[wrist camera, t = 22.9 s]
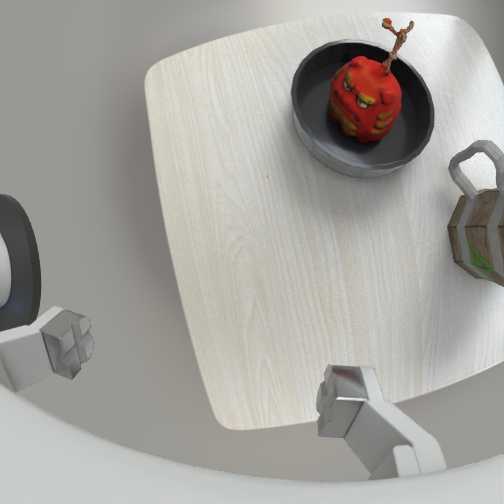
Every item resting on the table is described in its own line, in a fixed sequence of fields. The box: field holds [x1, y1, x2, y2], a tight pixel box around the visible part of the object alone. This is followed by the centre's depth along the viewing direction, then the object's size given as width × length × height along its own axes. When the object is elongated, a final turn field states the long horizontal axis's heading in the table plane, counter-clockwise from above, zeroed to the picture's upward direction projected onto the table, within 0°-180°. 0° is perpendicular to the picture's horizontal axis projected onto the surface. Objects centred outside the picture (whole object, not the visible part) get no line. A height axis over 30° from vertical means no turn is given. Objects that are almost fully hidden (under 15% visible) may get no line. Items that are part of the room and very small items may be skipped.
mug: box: [447, 140, 504, 287], centre depth 22 cm, size 16×11×12 cm
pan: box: [291, 39, 434, 178], centre depth 27 cm, size 15×15×5 cm
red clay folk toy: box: [328, 18, 414, 143], centre depth 22 cm, size 8×7×15 cm
